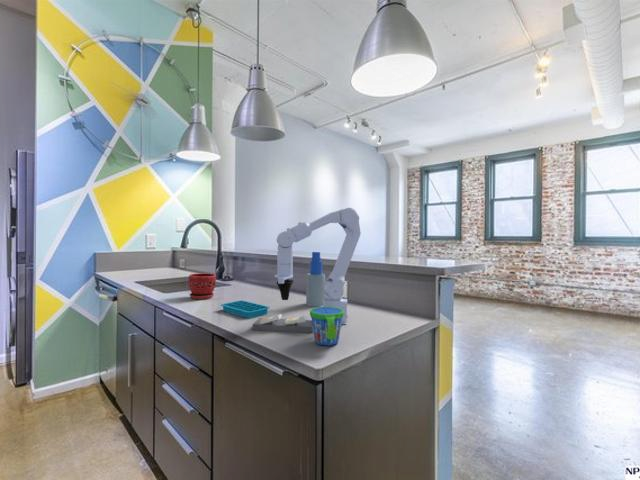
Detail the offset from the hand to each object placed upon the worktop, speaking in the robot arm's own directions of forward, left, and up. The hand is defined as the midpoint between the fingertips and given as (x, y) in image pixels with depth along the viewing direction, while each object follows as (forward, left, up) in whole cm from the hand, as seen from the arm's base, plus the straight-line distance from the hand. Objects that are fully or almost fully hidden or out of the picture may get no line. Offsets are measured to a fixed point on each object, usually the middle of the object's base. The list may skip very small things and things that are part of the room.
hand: (285, 299), depth 118 cm
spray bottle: (-8, -32, -9) cm, 35 cm away
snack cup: (-17, +18, -9) cm, 27 cm away
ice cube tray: (+20, -13, -10) cm, 26 cm away
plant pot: (+51, -37, -9) cm, 64 cm away
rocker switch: (-6, +8, -5) cm, 11 cm away
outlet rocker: (+3, +8, -5) cm, 10 cm away
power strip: (-1, +6, -9) cm, 11 cm away
